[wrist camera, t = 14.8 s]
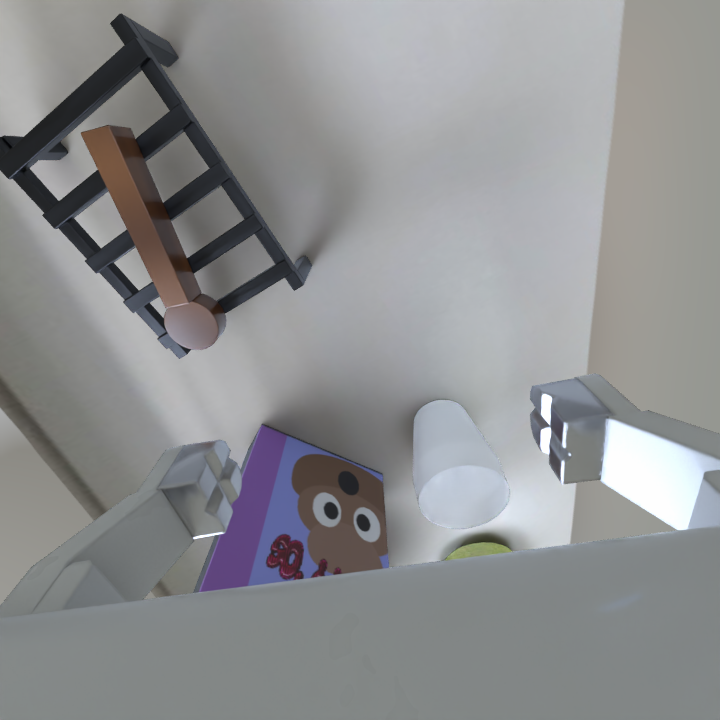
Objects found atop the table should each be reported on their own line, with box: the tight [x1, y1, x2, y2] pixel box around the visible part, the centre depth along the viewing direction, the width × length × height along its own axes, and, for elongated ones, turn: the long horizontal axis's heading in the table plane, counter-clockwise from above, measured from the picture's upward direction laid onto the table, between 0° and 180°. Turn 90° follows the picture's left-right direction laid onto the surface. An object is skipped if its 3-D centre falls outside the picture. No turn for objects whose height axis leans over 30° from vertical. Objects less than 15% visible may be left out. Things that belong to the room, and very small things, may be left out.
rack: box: [0, 14, 312, 359], centre depth 31 cm, size 20×14×7 cm
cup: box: [413, 400, 510, 529], centre depth 41 cm, size 9×9×12 cm
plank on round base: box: [81, 125, 226, 350], centre depth 28 cm, size 16×4×3 cm, turn 12°
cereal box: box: [193, 424, 389, 593], centre depth 39 cm, size 17×5×24 cm, turn 61°
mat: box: [445, 542, 513, 560], centre depth 58 cm, size 11×11×2 cm
